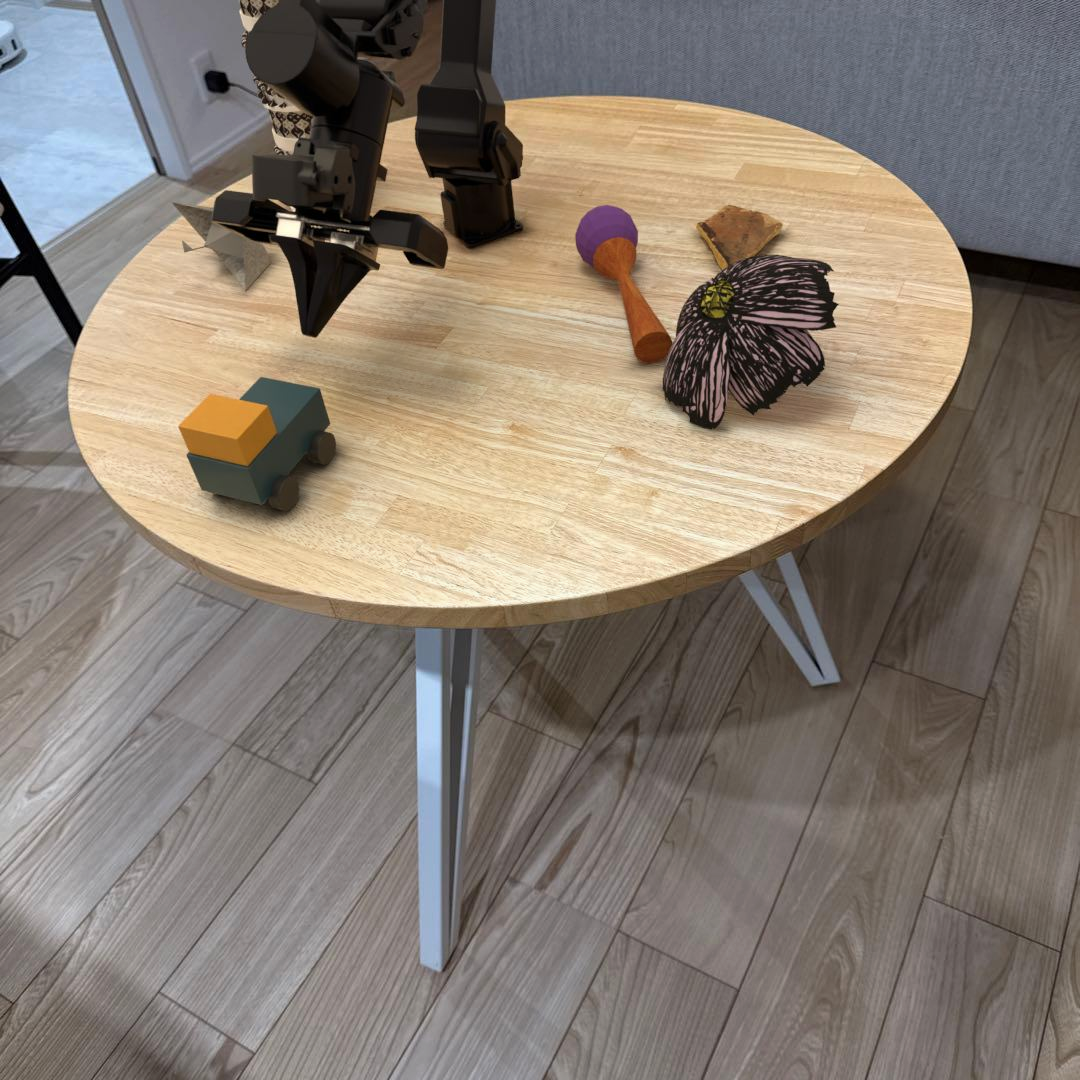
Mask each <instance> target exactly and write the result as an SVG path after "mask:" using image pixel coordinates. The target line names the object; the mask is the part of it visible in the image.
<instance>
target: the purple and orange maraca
mask: <svg viewBox="0 0 1080 1080" xmlns="http://www.w3.org/2000/svg"><path fill="white" fill-rule="evenodd" d="M574 234H575V247H576V249H577V252H578V254H579V256H580V258H581V260H582V261H583V262H584V263H585V264H587V265H589V267H592V268H593V269H595V270H596V272H597V273H599V274H600V275H601V276H604V277H606V278H608V279H610V280H612V281H614V282H617V283H618V285H619V290H620V295H621V301H622V304H623V308H624V314H625V316H626V317H625V318H626V321H627V326H628V330H629V335H630V340H631V343H632V348H633V352H634V353H633V354H634V356H635V357H636V359H637V360H638V361H640V362H641V363H646V364H653V363H658V362H659V361H662V360H663V359H665V358H667V355H668V352H669V350H670V347H671V345H672V343H673V340H672V337H671V335H670V334H669V333H668V331H667V329H666V328H665V326H664V325H663V324H662V322H661V321H660V320H659V318H658V316H657V314H656V313H655V312H654V310H653V309H652V308H651V305H650V304H649V303H648V301H647V300H646V299H645V296H644V295H643V294H642V292H641V290H640V289H639V288H638V285H636V284H635V281H633V279H632V277H631V275H632V272H633V269H634V267H635V266H634V265H635V263H636V260H637V247H638V243H639V229H638V228H637V226H636V224H635V222H634V219H633V217H632V216H631V214H629V213H628V212H627V211H625V210H624V209H623V208H620V207H618V206H614V205H610V204H604V205H599V206H596V207H594V208H592V209H590V210H588V211H587V212H586V213H585V214H584V215H583V216H582V217H581V219H580V221H579V224H578V226H577V228H576V231H575V233H574Z"/></svg>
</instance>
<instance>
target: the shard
mask: <svg viewBox="0 0 1080 1080" xmlns="http://www.w3.org/2000/svg"><path fill="white" fill-rule="evenodd" d="M783 227H784V223H783V222H782V221H780V220H779V219H776V218H775V217H773V216H771V215H770V214H768V213H763V212H761V211H757V210H752V209H748V208H745V207H740V206H737V205H734V204H733V205H732V204H725V205H723V206H722V207H720V209H719V210H718V211H716V212H715V213H714V214H713V215H711V216H709V217H708V218H706V219H705V220H703V221H700V222H697V223H696V227H695V228H696V229H697V232H698V234H699V235H700V237H701V238H703V239H704V240H705V241H706V242H707V245H708V248H710V250H711V251H712V253H713V257H714V258H715V260H716V262H717V264H718V265H719V267H720V269H721V271H722V270H723V269H724V268H726V267H728V266H730V265H731V264H733V263H735V262H737V261H740V260H742V259H744V258H749V257H753V256H756V255H757V254H758V253H759V252H760V251H762V249H763V248H764V247H765V246H766V244H768V243H769V242H770V241H771V240H772V239H773V238H774V237H776V236H778V235H779V234H780V233H781V231H782V228H783Z"/></svg>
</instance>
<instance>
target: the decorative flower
mask: <svg viewBox="0 0 1080 1080" xmlns="http://www.w3.org/2000/svg"><path fill="white" fill-rule="evenodd" d="M830 272H835V270H834V269H833V267H832V266H831V265H830V264H829V263H828V262H824V261H821V260H817V259H811V258H805V257H792V256H787V255H779V254H762V255H755V256H753V257H749V258H744V259H742V260H740V261H737V262H735V263H733V264H731V265H730V266H728V267H726V268H724V269H723V270H722V269H721V271H719V272H718V273H716V275H715V276H714V277H711V278H710V279H708V280H706V281H705V282H704V283H702V284H700V285H699V286H698V287H696V288H695V290H693V292H692V293H691V294H690V295H689V297H688V298H687V299H686V301H685V302H684V304H683V306H682V307H681V311H680V312H679V315H678V319H677V323H676V329H675V330H676V331H675V338H674V340H672V345H671V347H670V350H669V352H668V355H667V356H666V357H665V358H666V359H665V363H664V369H663V375H662V391H663V394H664V400H665V401H668V404H669V405H671V404H673V405H674V406H675V407H678V408H679V407H680V408H682V409H681V411H682V413H684V414H685V415H687V417H688V419H689V423H690V424H692V425H695V426H697V427H701V428H703V429H708V430H711V431H712V430H715V429H716V428H717V427H719V426H720V424H721V423H722V421H723V419H724V417H725V413H726V408H727V406H728V402H729V401H728V400H729V394H730V395H731V397H732V398H733V399H734V400H735V401H736V403H738V405H739V406H740V407H741V408H742V409H743V410H745V411H746V412H748V413H749V414H750V415H752V416H753V417H754V416H755V414H756V413H758V411H759V410H769V411H771V410H772V407H771V405H774V404H777V403H779V400H778V399H779V398H780V397H781V396H783V395H784V394H785V393H787V391H788V390H789V387H791V386H792V387H793V388H796V387H797V386H798V385H805V386H806V387H807V388H808V387H809V386H810V385H811V384H812V383H814V381H815V380H816V379H818V378H819V377H820V375H821V373H822V372H824V371H825V370H826V369H825V367H826V361H825V355H824V353H823V350H822V348H821V347H820V345H819V344H818V342H817V341H816V340H815V339H814V337H813V335H811V333H810V332H815V331H816V332H818V331H825V330H830V329H835V328H837V326H836V322H835V321H836V320H835V318H834V311H835V310H836V309H837V307H838V306H839V303H837V302H835V301H834V299H835V295H836V294H835V292H833V291H831V288H830V282H829V280H827V278H826V277H827V276H828V274H829V273H830ZM825 276H826V277H825ZM809 331H810V332H809Z"/></svg>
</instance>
